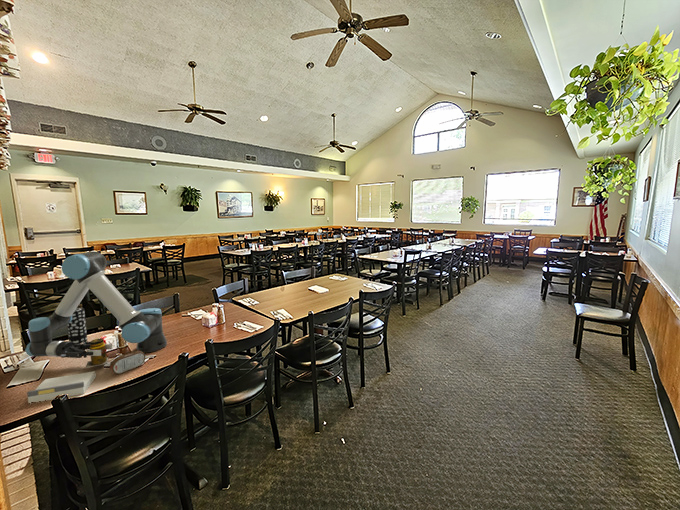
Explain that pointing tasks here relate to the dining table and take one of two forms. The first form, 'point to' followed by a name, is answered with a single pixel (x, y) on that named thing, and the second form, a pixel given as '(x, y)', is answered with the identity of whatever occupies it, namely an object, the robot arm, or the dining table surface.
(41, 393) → the grey striped flat slab
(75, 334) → the spotted tube
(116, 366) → the brown grey oval slab
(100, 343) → the condiment
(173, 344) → the dining table surface
